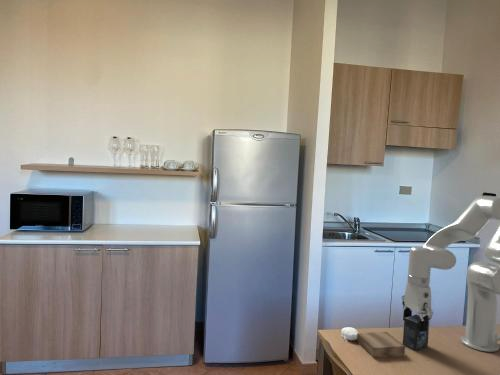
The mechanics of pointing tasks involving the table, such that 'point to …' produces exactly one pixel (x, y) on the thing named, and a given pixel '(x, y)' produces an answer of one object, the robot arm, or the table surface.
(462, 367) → the table surface
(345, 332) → the garlic
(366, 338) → the walnut block
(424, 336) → the box
